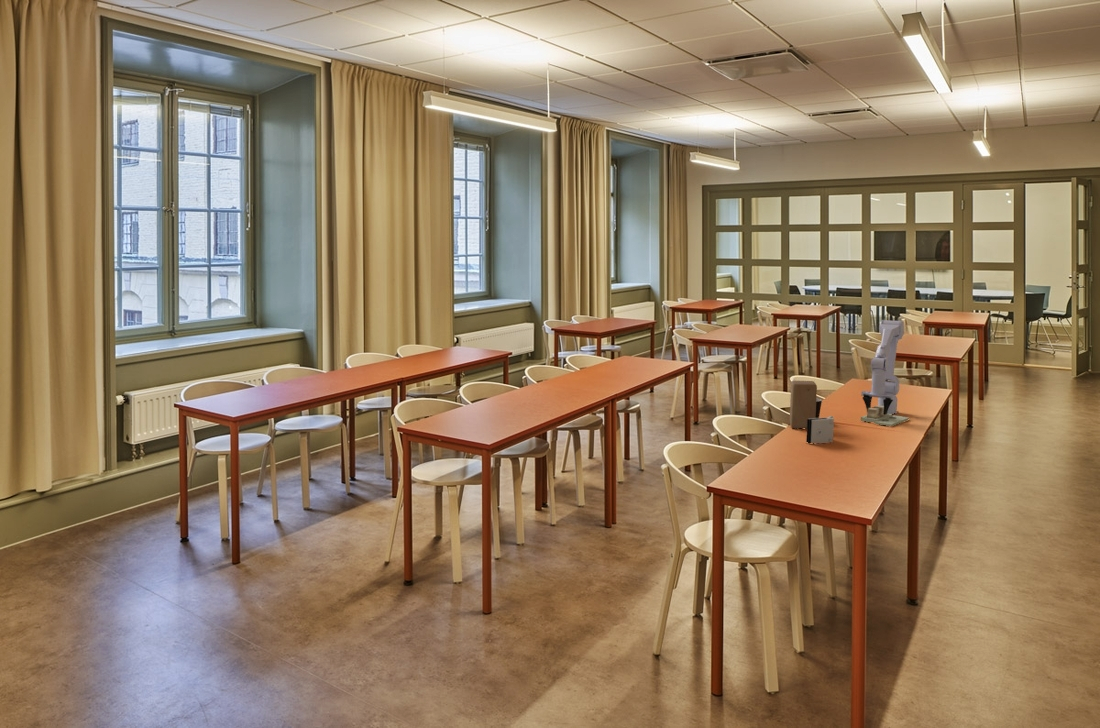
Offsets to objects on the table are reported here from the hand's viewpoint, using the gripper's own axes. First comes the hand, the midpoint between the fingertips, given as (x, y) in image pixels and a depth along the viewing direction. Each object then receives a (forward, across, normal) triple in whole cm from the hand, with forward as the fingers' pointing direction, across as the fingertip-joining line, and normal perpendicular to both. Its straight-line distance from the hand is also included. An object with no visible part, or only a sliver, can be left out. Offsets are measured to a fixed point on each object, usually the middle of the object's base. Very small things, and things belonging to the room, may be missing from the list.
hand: (876, 413), depth 373 cm
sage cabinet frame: (+3, +4, 0) cm, 5 cm away
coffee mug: (+3, -21, -22) cm, 31 cm away
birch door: (+3, 0, 0) cm, 3 cm away
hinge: (+3, +2, -57) cm, 57 cm away
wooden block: (+3, -17, -37) cm, 41 cm away
